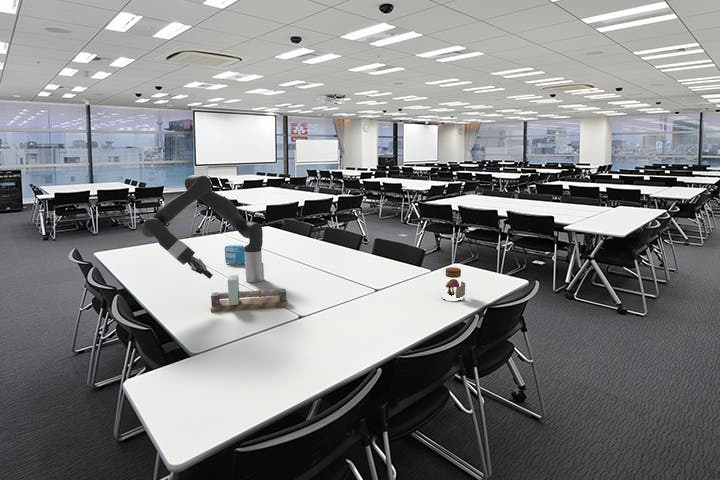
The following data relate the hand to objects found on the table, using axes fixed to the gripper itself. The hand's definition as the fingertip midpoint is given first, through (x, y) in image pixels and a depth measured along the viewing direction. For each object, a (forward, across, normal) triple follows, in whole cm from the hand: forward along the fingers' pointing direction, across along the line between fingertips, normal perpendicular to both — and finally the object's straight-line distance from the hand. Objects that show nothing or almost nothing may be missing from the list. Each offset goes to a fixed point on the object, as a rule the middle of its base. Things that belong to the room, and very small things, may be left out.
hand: (211, 276), depth 205 cm
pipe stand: (+22, 0, -1) cm, 22 cm away
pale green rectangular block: (+16, 0, +2) cm, 16 cm away
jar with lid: (+91, -8, -70) cm, 116 cm away
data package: (+12, +85, +9) cm, 86 cm away
